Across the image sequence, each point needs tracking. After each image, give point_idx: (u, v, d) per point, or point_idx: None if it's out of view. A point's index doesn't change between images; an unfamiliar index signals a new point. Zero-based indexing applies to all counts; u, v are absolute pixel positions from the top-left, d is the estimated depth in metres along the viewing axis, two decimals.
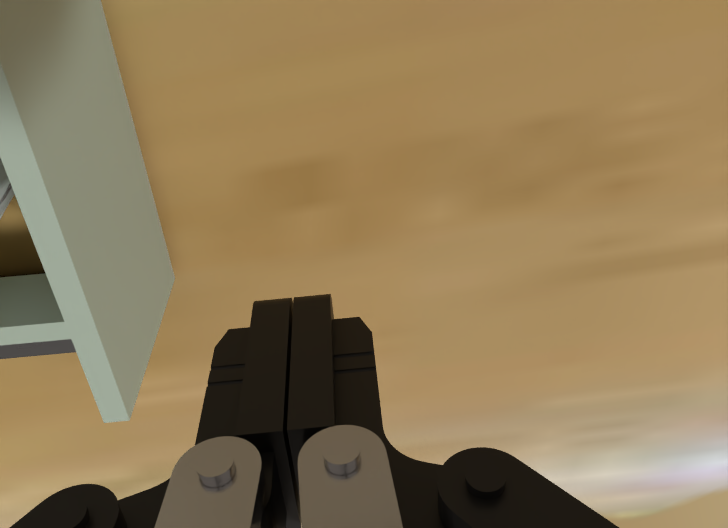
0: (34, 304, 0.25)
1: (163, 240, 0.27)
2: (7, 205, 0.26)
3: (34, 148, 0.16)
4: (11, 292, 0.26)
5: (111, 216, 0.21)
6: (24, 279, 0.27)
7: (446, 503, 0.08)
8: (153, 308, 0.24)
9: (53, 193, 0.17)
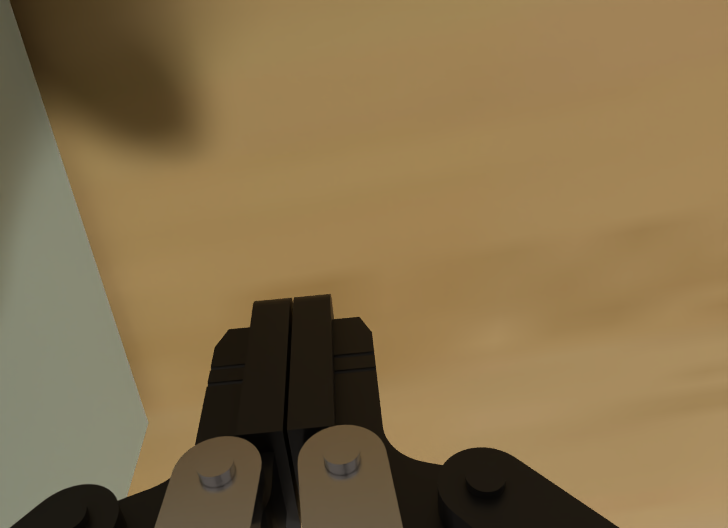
0: None
1: (131, 380, 0.20)
2: None
3: None
4: None
5: (44, 395, 0.14)
6: None
7: (446, 503, 0.08)
8: (113, 489, 0.18)
9: None
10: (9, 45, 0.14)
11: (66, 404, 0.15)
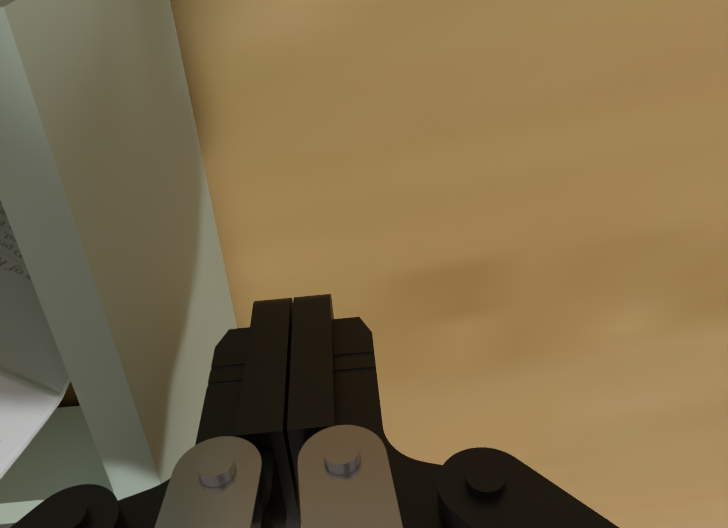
0: (73, 459, 0.19)
1: None
2: None
3: (116, 336, 0.10)
4: (40, 437, 0.20)
5: (199, 376, 0.14)
6: (56, 415, 0.20)
7: (446, 503, 0.08)
8: None
9: (140, 395, 0.10)
10: (168, 25, 0.14)
11: None
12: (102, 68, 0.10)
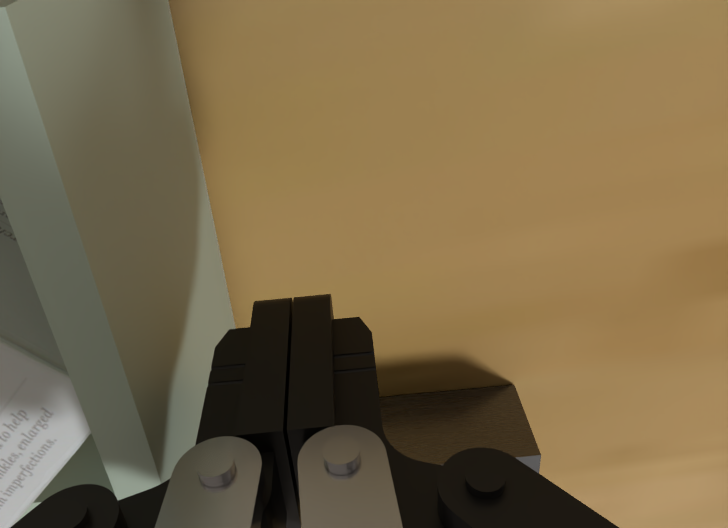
0: (71, 462, 0.19)
1: None
2: None
3: (117, 336, 0.10)
4: None
5: (199, 377, 0.14)
6: None
7: (446, 503, 0.08)
8: None
9: (140, 396, 0.10)
10: (166, 27, 0.14)
11: None
12: (102, 69, 0.10)
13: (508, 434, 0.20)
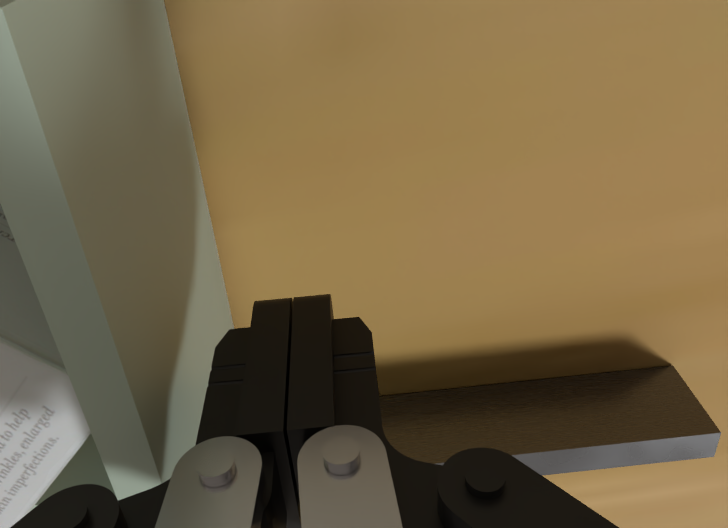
0: (71, 464, 0.19)
1: None
2: None
3: (116, 337, 0.10)
4: None
5: (198, 377, 0.14)
6: None
7: (446, 503, 0.08)
8: None
9: (140, 396, 0.10)
10: (162, 28, 0.14)
11: None
12: (98, 70, 0.10)
13: (682, 413, 0.20)
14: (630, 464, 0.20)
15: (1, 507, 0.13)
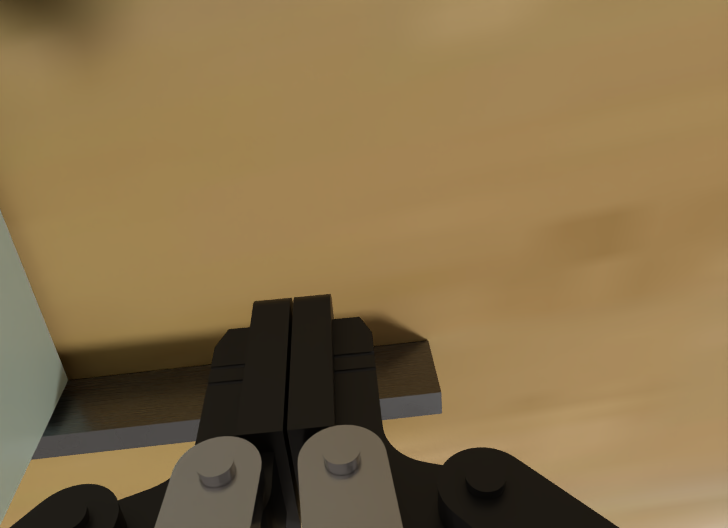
0: None
1: (50, 342, 0.24)
2: None
3: None
4: None
5: None
6: None
7: (446, 503, 0.08)
8: (28, 425, 0.22)
9: None
10: None
11: None
12: None
13: (417, 377, 0.24)
14: None
15: None
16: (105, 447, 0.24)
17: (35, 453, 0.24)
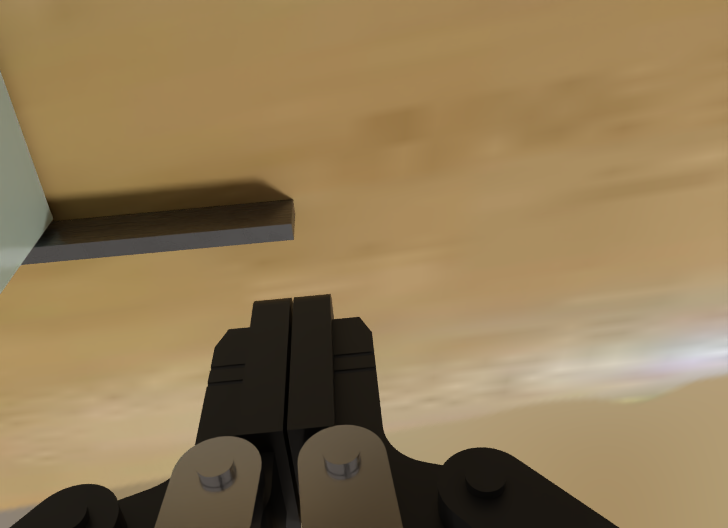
0: None
1: (41, 189, 0.37)
2: None
3: None
4: None
5: None
6: None
7: (446, 503, 0.08)
8: (26, 233, 0.35)
9: None
10: None
11: None
12: None
13: (279, 217, 0.38)
14: (248, 243, 0.37)
15: None
16: (76, 256, 0.37)
17: (31, 259, 0.37)
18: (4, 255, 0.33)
